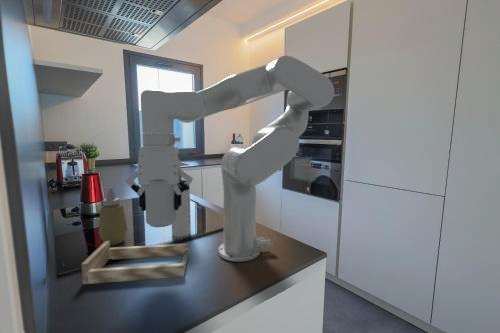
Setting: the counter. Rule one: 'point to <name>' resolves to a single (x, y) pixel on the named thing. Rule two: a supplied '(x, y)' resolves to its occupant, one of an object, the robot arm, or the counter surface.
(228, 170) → the robot arm
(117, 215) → the squeeze bottle
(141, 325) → the counter surface
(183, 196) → the travel mug
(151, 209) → the can
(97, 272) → the frame
